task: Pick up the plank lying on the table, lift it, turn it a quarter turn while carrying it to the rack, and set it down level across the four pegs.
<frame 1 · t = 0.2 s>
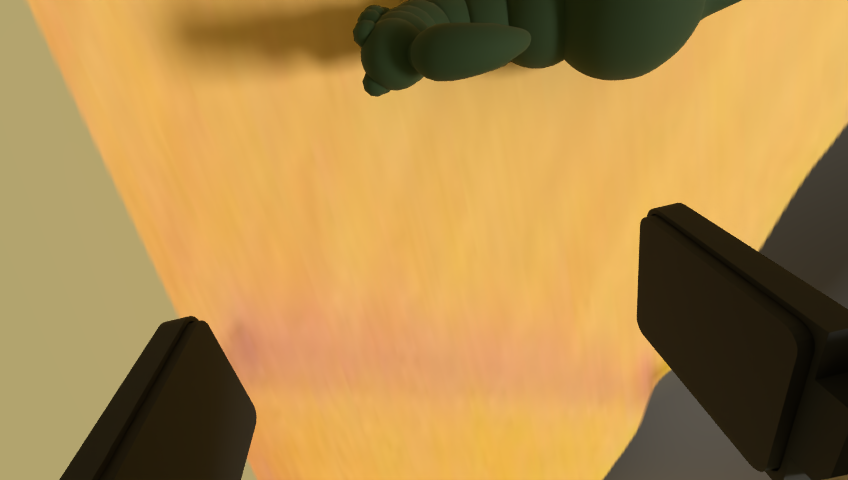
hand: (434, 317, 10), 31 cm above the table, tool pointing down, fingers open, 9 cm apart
toy figurine: (520, 15, 36), on the table
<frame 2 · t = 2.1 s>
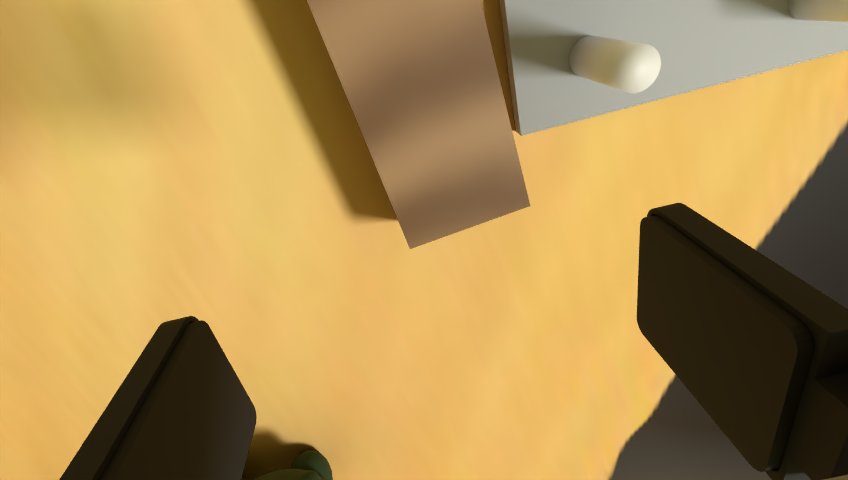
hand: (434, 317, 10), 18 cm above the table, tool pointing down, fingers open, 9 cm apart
shelf plank: (414, 72, 24), on the table
toy figurine: (234, 472, 37), on the table
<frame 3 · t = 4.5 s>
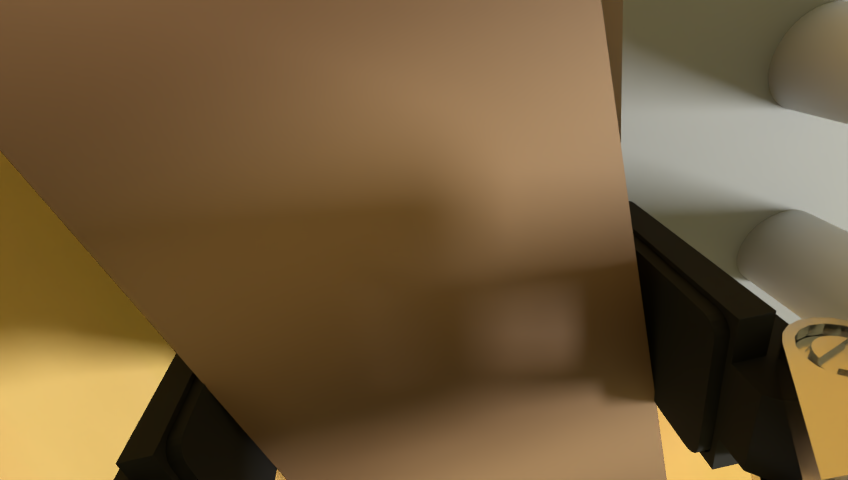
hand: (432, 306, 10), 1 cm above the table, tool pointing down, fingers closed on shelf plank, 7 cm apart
shelf plank: (424, 271, 11), on the table, touching gripper
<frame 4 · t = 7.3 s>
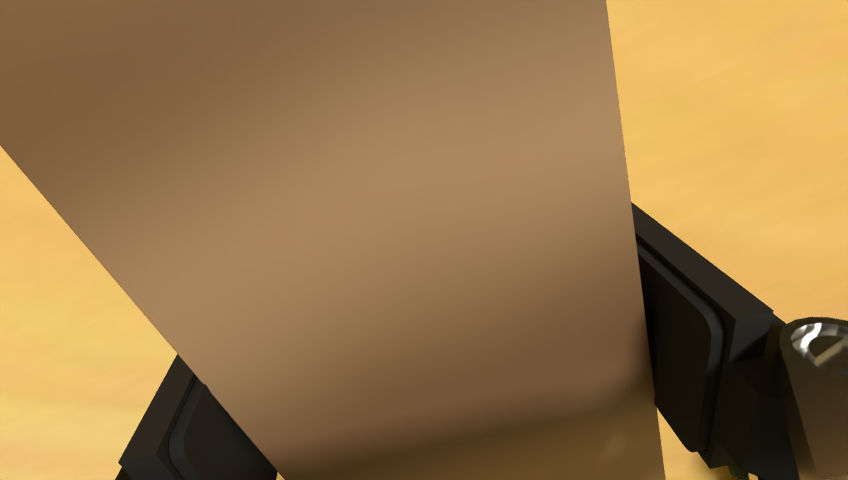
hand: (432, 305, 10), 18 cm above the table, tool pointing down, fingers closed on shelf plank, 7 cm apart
shelf plank: (425, 273, 11), point 16 cm above the table, touching gripper
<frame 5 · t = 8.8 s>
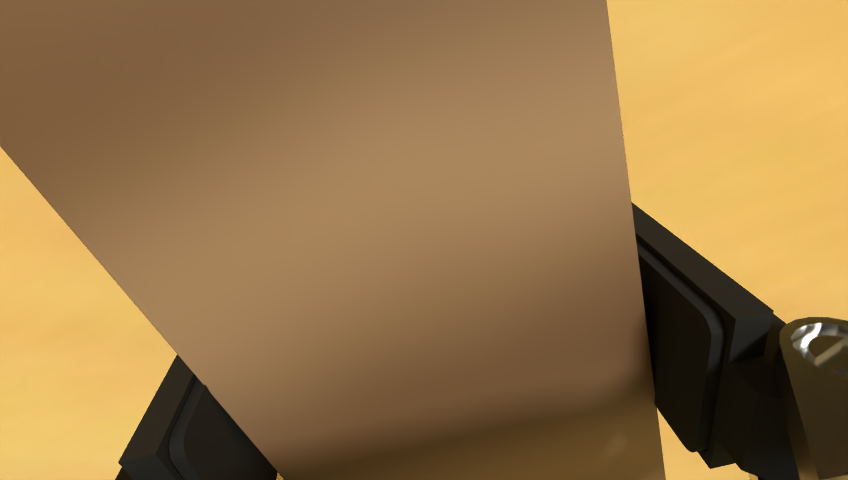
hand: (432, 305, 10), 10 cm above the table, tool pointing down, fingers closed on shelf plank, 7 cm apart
shelf plank: (425, 273, 11), point 8 cm above the table, touching gripper
when the fingers open (8 cm above the table, at t = 10.1 s): shelf plank drops 1 cm, resting on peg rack.
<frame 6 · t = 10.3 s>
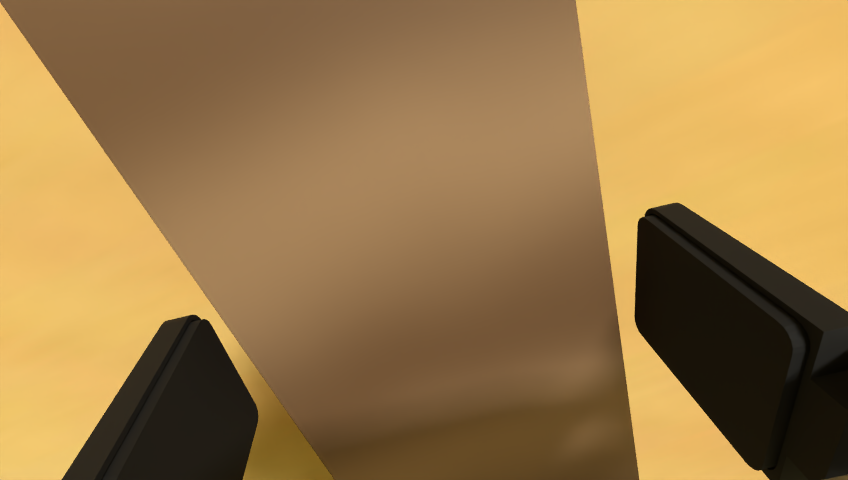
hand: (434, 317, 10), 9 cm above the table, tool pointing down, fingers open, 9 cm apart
shelf plank: (423, 252, 12), point 6 cm above the table, touching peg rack
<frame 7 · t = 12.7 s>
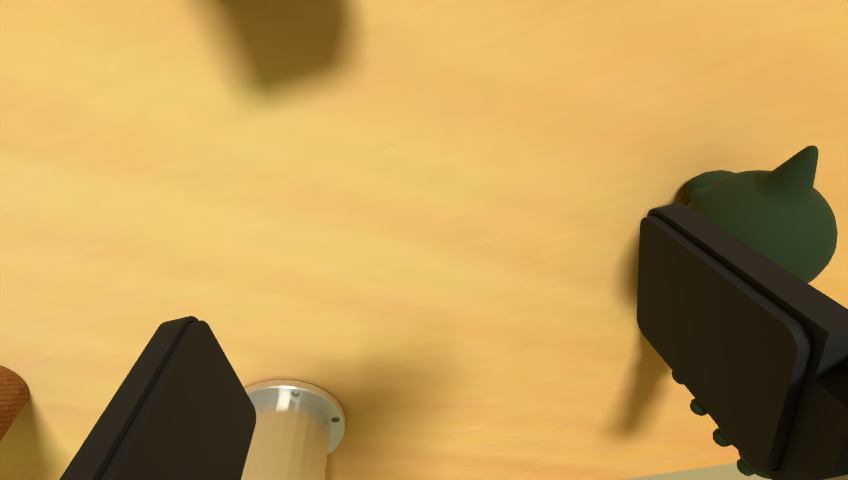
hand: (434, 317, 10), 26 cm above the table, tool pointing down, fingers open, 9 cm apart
toy figurine: (685, 247, 42), on the table
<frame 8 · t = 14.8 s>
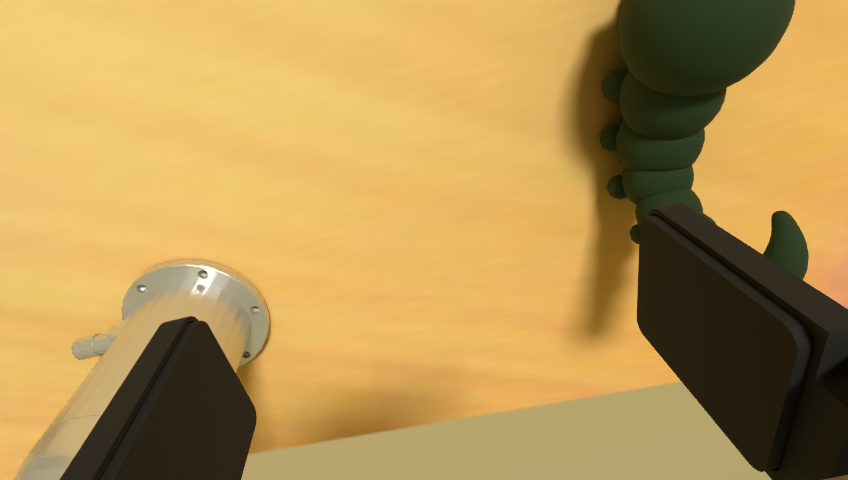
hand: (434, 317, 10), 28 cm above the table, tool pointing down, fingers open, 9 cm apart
toy figurine: (637, 84, 37), on the table
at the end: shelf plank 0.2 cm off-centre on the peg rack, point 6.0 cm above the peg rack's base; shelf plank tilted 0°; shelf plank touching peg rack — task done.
